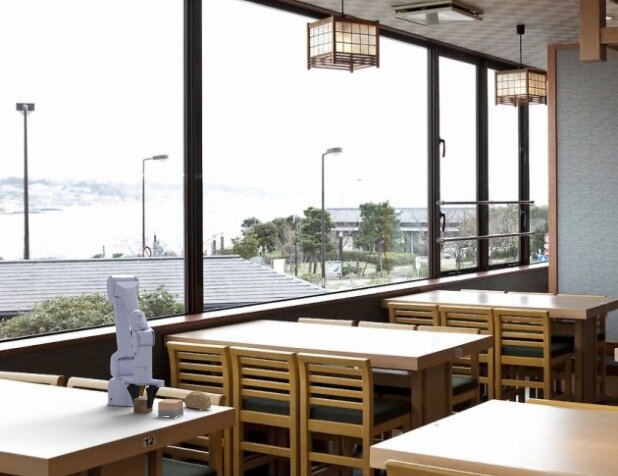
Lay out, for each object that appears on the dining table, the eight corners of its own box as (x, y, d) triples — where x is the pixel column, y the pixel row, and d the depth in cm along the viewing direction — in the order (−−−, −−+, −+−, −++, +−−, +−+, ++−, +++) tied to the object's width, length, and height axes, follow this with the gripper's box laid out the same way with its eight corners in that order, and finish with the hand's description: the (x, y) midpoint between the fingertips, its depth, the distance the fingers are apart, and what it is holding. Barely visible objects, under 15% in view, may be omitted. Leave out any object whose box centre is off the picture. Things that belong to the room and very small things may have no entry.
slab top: (158, 410, 304) (158, 402, 304) (166, 406, 310) (165, 399, 310) (175, 410, 302) (175, 403, 302) (183, 407, 308) (183, 399, 308)
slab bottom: (158, 417, 304) (158, 409, 304) (166, 414, 310) (166, 406, 310) (175, 418, 302) (175, 411, 302) (183, 415, 308) (183, 407, 308)
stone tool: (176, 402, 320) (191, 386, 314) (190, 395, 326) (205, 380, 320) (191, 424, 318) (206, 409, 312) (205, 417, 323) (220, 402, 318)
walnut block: (133, 412, 310) (133, 399, 310) (140, 410, 314) (140, 396, 314) (145, 413, 309) (145, 399, 309) (152, 411, 313) (152, 397, 313)
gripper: (117, 366, 310) (117, 408, 310) (156, 369, 305) (157, 411, 305) (128, 363, 317) (128, 404, 317) (167, 366, 312) (167, 407, 312)
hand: (143, 407), depth 312 cm, fingers closed on walnut block, 4 cm apart
